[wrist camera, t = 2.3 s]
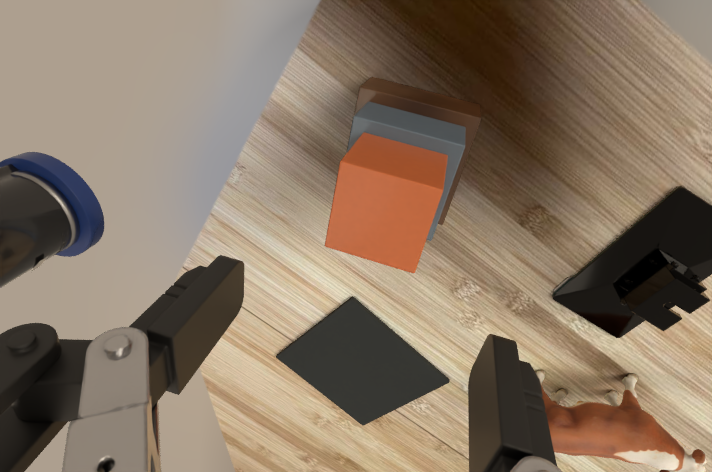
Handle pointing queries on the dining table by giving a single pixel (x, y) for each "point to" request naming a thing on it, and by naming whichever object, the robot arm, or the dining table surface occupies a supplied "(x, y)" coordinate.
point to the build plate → (647, 269)
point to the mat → (361, 363)
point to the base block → (425, 113)
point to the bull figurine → (617, 431)
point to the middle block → (413, 138)
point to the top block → (386, 201)
